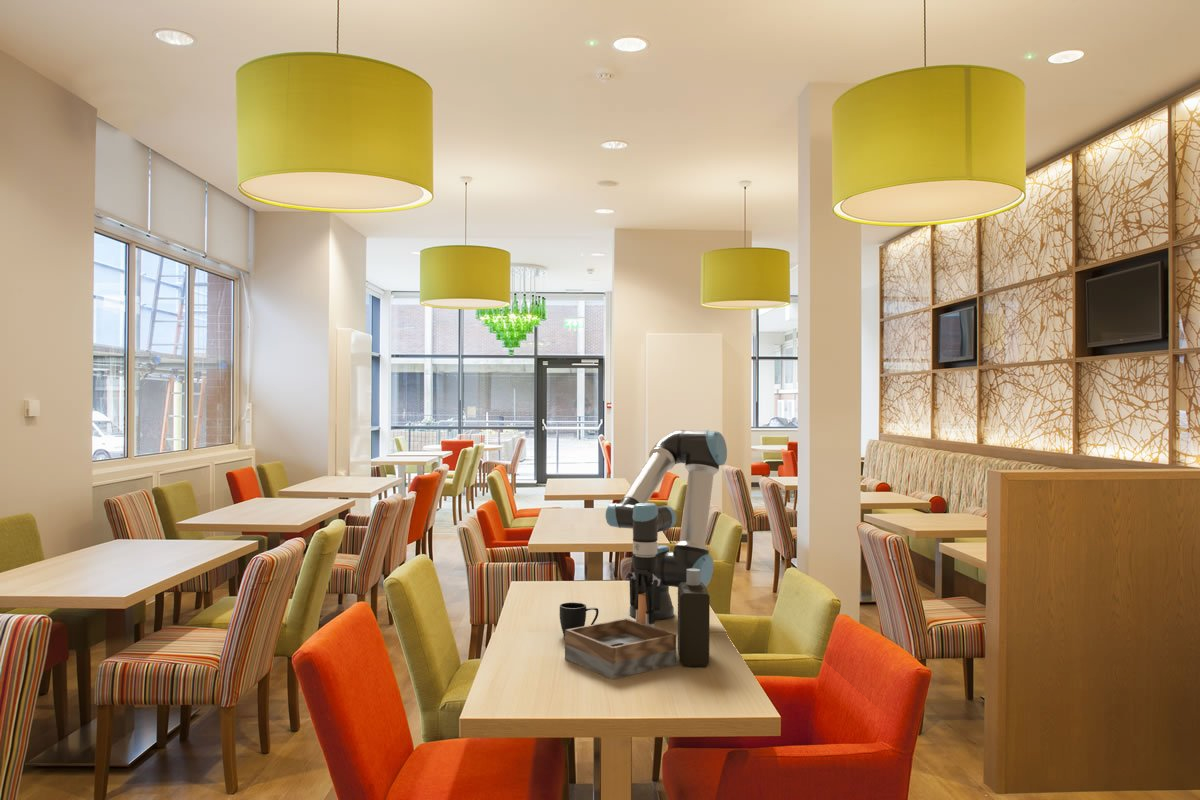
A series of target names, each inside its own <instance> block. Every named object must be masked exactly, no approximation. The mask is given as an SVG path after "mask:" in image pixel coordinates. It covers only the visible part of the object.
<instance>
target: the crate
mask: <svg viewBox="0 0 1200 800" xmlns="http://www.w3.org/2000/svg"><path fill="white" fill-rule="evenodd" d="M564 659H566V660H568V661H570V662H572V663H574V664H577V665H579V666H581V667H583V668H586V669H588V670H590V671H593V672H595V673H597V674H599V675H602V676H605V678H609V679H611V680H616V679H619V678H625V677H627V676H632V675H637V674H641V673H644V672H649V671H653V670H657V669H660V668H665V667H669V666H674V665H676V664H677V634H674V633H672V632H668V631H665V630H663V629H660V628H657V627H655V626H654V627H651V626H648V625H645V624H642V623H639V622H636V620H632V619H630V618H627V617H626V618H622V619H615V620H611V621H605V622H598V623H594V624H593V625H591V624H589V625H585V626H582V627H577V628H572V629H566V630H565V637H564Z"/></svg>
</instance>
